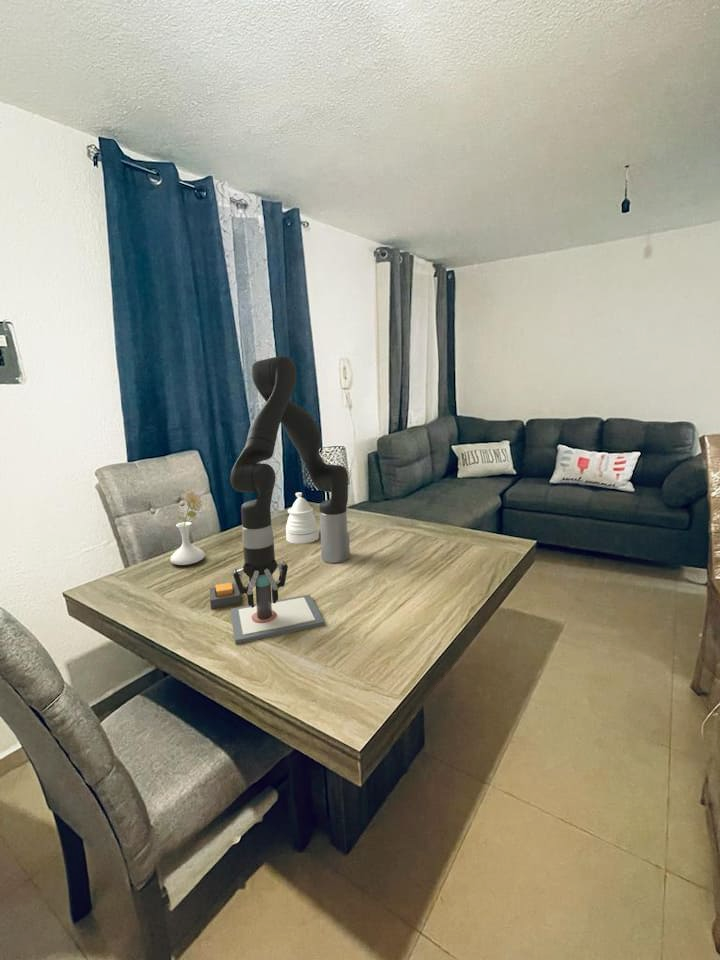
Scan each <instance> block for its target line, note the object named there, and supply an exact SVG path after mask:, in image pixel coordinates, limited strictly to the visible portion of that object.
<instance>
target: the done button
mask: <svg viewBox="0 0 720 960" xmlns="http://www.w3.org/2000/svg"><path fill="white" fill-rule="evenodd" d="M232 584H233V583H232V582H226V583H221V584H220V583H219V584H215V587H216V594H217V597H218V596H224V595H229V594H233V589H232Z"/></svg>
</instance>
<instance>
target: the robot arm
mask: <svg viewBox="0 0 720 960" xmlns="http://www.w3.org/2000/svg"><path fill="white" fill-rule="evenodd" d="M250 369H251V370H250V373H251V374H250V375H251V379H252V382H253V384H254V386H255V388H256V389H257V392H259V394H260V395H261V397H262V398H263V400H264V401H265V403H264V405H263V406H262V408H261V409H260V410H259V411H258V413H257V414H256V415H255V417H254V418H253V420H252V422H251V424H250V426H249V429H248V434H247V437H246V438H247V439H246V442H245V446H244V448H243V449H242V451H241V453H240V455H239V457H237V460H236V461H235V463H234V465H233V467H232V469H231V472H230V477H229V478H230V479H229V480H230V484H231V487H232V489H233V490H235V491H236V492H239V493H258V496H257V499H252V500H248V501H244V502H243V504H241V506H240V507H241V508H240V512H241V513H240V514H241V525H242V527H241V528H242V529H241V530H242V531H241V532H242V533H241V534H242V535H241V536H242V537H241V538H242V547H243V548H242V551H243V558H244V559H243V561H244V563H243V567H242V568H239V569H236V568H234V569H233V570H232V574H233V579H234V581H235V584H237V587H238V589H239V592H240V595H242V594H246V599H247V603H248V605H247V606H251V608H252V607H254V604H255V603H254V602H255V601H254V593H253V591H254V588H255V587H256V585H255V583H256V582H257V577H258V575H262V574H266V576H267V578H268V580H269V582H270V584H271V601H273V603H276V601H278V600H279V591H278V590H279V589H280V588H281V587H283V588H284V586H285V584H286V579H287V574H288V568H289V565H288V564H287V562H286V561H282V562H277V560H276V558H275V557H276V555H275V542H274V540H275V538H274V530H273V526H272V516H271V513H272V512H271V505H272V497H273V494H274V493H273V492H274V489H275V484H276V472H275V470H274V468H273V466H271V465H270V464H268V463H260V462H263V461H268V460H270V459H271V458H272V457H273V455H274V452H275V446H276V442H277V438H278V432H279V428H280V425H282V427H283V430H285V431H284V432H285V433H286V435H287V437H288V438H289V439H290V441H291V443H292V445H293V446H294V447H295V450H297V452H298V454H299V456H300V459H301V460H302V462H303V463H304V466H305V467H306V470H307V473H308V475H309V477H310V480H311V482H312V483H313V485H314V487H315V489H317V490H319V491H321V492H328V493H330V499H327V500H324V501H321V502H320V503H319V523H320V524H319V525H320V528H319V530H320V544H321V545H320V546H321V551H320V552H321V553H320V554H321V559H322V561H323V562H325V563H330V564H331V563H332V564H333V563H335V564H336V563H342V562H345V561H348V560H350V559H351V555H350V554H351V552H350V551H351V549H350V548H351V547H350V533H349V531H348V515H347V514H348V513H347V507H348V501H349V474H348V473H349V472H348V471H347V468H346V467H345V466H343V465H338V464H329V463H325V461H324V460H323V459H322V456H321V455H320V449H321V446H322V434H321V430H320V429H319V427H318V425H317V423H316V421H315V419H314V417H312V415H311V414H310V413H309V412H307V410H305V409H303V408H301V407H300V406H299V405H298V404H297V403H294V402H293V401H291V400H290V399H291V397H292V395H293V393H294V392H293V391H294V389H295V386H296V384H297V377H298V376H297V369H296V366H295V363H294V362H293V360H292V359H291V358H290V357H288V356H285V355H284V356H283V355H281V356H280V355H279V356H275V357H274V356H273V357H270V358H265V359H260V360H258V361H255V362H253V364H252V365H251V367H250ZM276 569H278V571H279V575H278V580H277V581H276V580H275V578H274V576H273V574H274V573H275V571H276ZM243 574H245V575H246V576H247V577H248V581H247V583H246V584H247V585H246V586H244V585H243V582H242V578H243V576H244V575H243Z"/></svg>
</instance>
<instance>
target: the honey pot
mask: <svg viewBox="0 0 720 960" xmlns="http://www.w3.org/2000/svg"><path fill="white" fill-rule="evenodd" d="M302 496H303V493H302V492H298V491H297V492H295V497H296V499H295V501H294V502H293V504H292V507H290V508H288V509H287V514H289V516H288V517H287V522H286V525H285V537H286V538H285V539H286V541H287V542H289V543H292V544H298V545H301V544H310V543H313V542H315V540H316V541H317V540H318V539H319V537H320V533H319V531H320V530H319V524H318V521H317V518H316V516H315V515H314V512H313V511H314V508H313V507H312V506H311V505H310V504H309V503H308V501H307V499H305V498H304V497H302Z"/></svg>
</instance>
